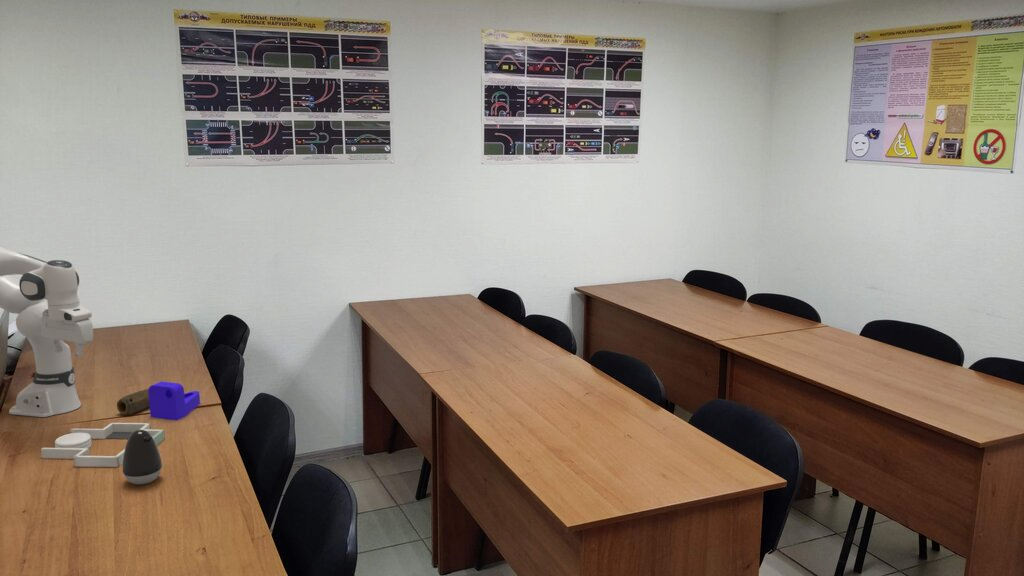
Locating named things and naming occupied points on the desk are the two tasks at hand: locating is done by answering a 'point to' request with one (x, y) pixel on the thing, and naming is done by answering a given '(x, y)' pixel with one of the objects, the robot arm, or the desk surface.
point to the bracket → (171, 401)
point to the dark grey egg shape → (141, 458)
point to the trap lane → (108, 432)
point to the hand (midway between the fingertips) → (68, 353)
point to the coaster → (74, 441)
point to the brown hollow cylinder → (134, 402)
